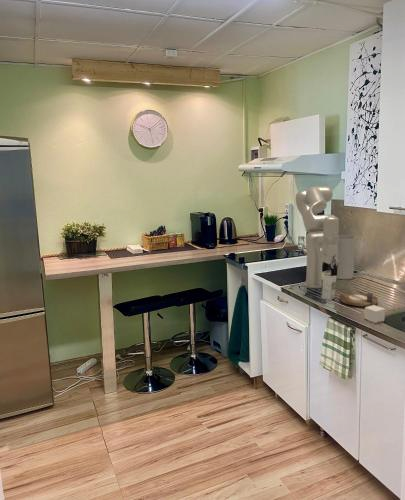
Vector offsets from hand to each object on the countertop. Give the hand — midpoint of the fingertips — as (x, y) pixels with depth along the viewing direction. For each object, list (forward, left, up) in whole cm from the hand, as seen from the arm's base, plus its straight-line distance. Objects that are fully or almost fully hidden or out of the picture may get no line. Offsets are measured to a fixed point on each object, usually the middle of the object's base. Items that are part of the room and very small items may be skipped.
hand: (329, 273), depth 215 cm
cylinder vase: (-36, +27, -14) cm, 47 cm away
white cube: (+32, +6, -14) cm, 36 cm away
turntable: (+8, +12, -14) cm, 20 cm away
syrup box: (-1, 0, -14) cm, 14 cm away
